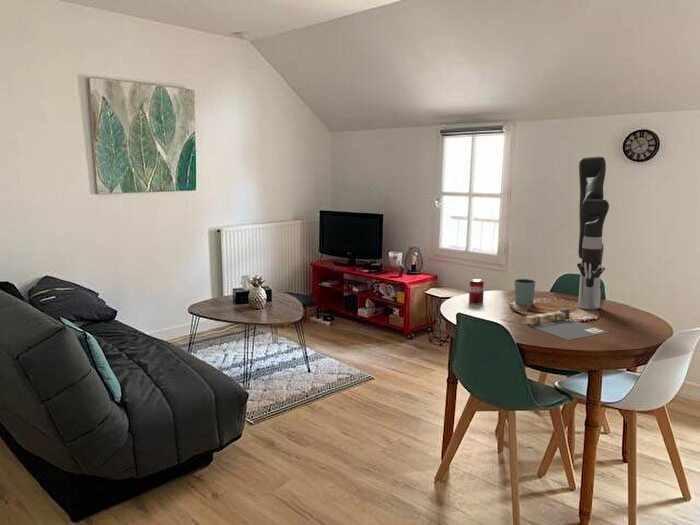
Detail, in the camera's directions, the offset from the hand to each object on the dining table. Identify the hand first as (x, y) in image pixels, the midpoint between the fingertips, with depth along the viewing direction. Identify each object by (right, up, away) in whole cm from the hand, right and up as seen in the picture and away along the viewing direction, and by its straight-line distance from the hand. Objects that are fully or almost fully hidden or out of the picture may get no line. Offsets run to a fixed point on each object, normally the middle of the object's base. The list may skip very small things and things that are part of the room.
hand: (589, 286), depth 229 cm
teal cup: (-13, -11, +47) cm, 50 cm away
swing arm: (-12, -16, +15) cm, 25 cm away
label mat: (-9, -18, +6) cm, 21 cm away
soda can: (-37, -11, +49) cm, 63 cm away
